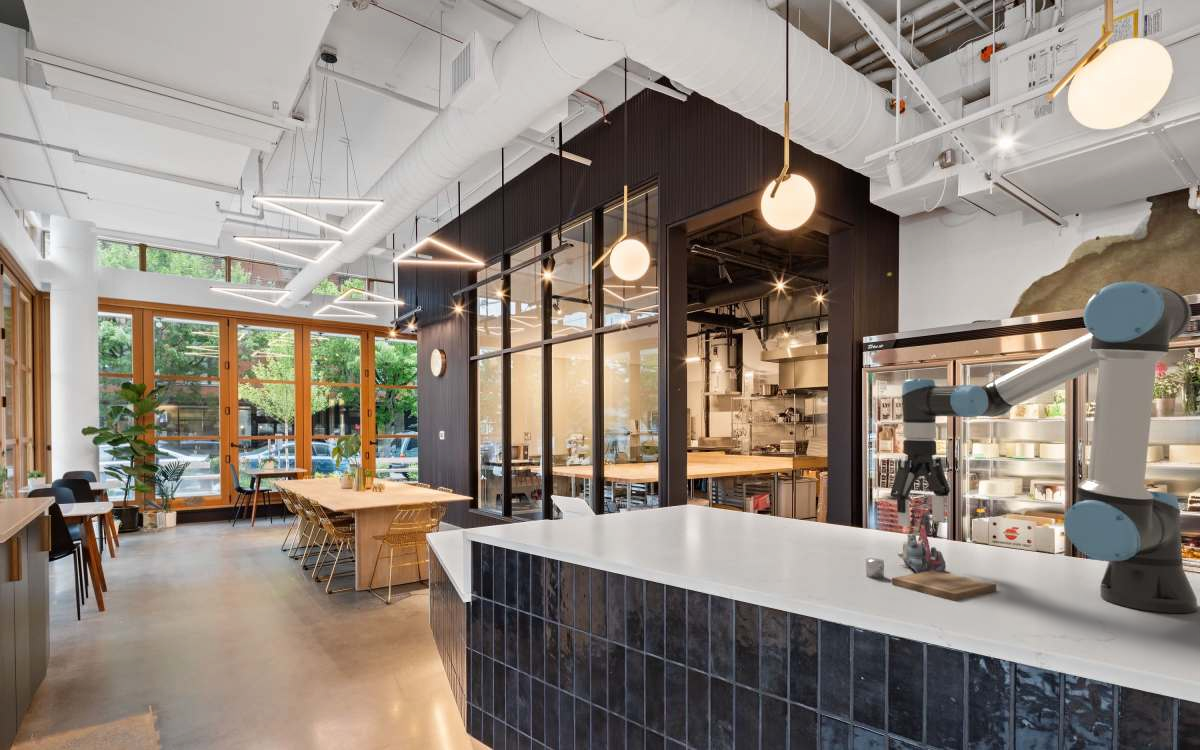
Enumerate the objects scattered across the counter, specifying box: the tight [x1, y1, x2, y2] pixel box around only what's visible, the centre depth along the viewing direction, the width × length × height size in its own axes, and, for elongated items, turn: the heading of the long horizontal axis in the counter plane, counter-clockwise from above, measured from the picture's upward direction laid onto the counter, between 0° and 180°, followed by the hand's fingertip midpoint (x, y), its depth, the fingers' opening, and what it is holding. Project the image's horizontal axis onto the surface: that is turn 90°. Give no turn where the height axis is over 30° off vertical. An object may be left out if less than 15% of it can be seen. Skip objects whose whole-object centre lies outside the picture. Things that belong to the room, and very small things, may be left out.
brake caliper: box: [897, 525, 947, 573], centre depth 160 cm, size 11×11×12 cm
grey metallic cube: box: [865, 557, 885, 580], centre depth 153 cm, size 4×4×4 cm
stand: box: [891, 570, 997, 602], centre depth 143 cm, size 15×15×2 cm
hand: (921, 523), depth 160 cm, fingers open, 13 cm apart
